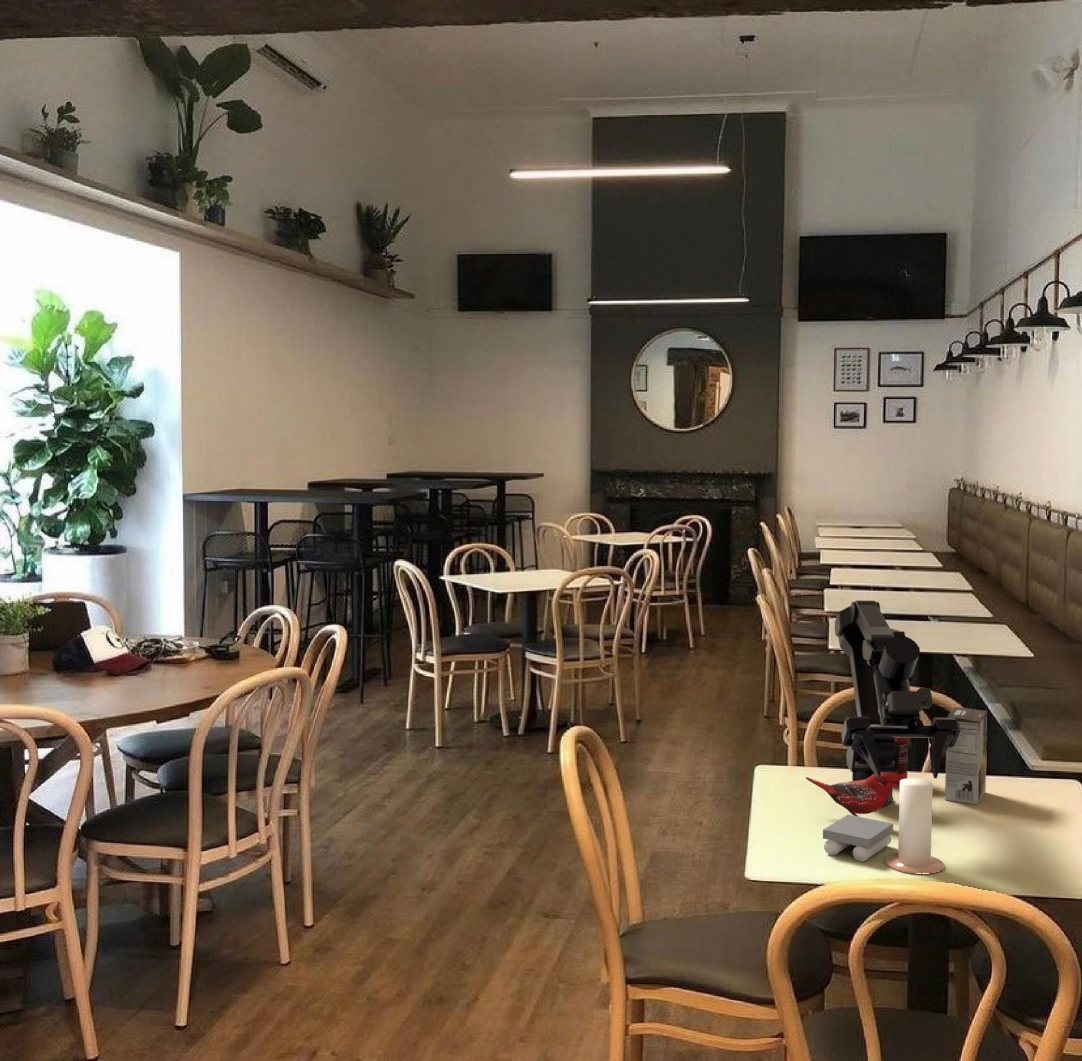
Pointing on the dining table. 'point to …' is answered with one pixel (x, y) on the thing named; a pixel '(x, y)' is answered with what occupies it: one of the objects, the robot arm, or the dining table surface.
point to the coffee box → (967, 757)
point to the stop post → (915, 822)
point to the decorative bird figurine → (860, 793)
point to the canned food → (901, 761)
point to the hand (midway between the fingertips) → (907, 776)
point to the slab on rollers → (857, 836)
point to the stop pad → (932, 868)
